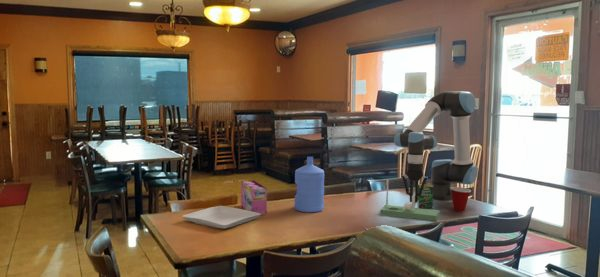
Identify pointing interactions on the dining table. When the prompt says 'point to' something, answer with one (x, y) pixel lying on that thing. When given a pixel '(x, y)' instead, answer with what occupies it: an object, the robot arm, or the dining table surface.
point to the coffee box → (425, 196)
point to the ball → (408, 206)
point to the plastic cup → (459, 198)
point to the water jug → (309, 188)
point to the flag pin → (387, 193)
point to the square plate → (221, 217)
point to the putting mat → (410, 212)
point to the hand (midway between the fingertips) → (413, 208)
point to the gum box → (254, 197)
